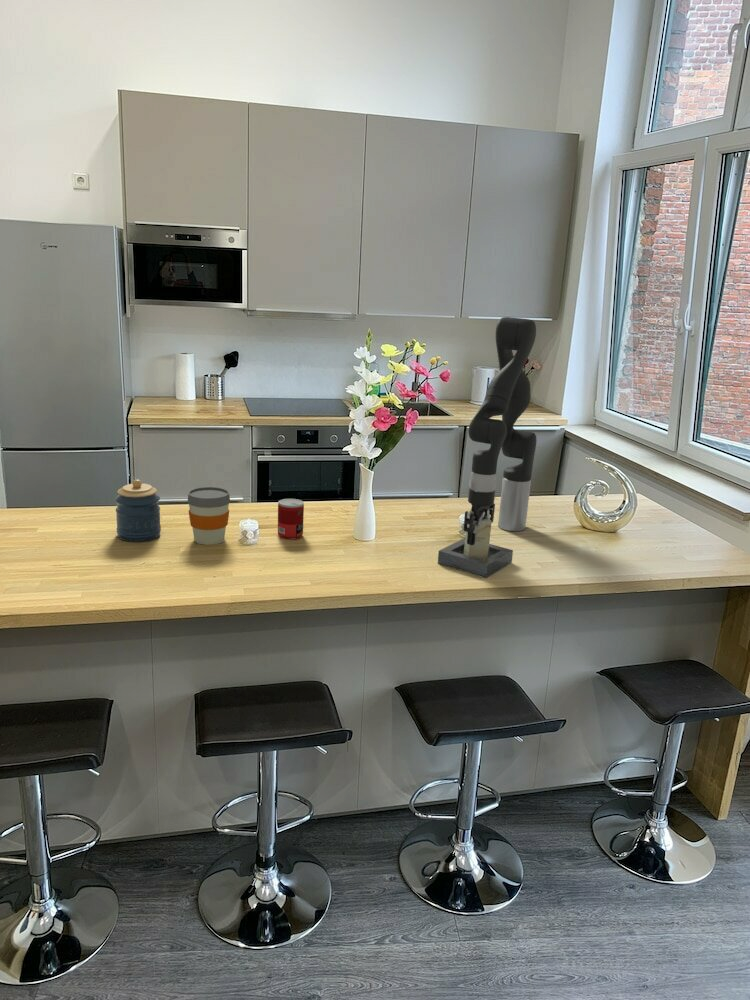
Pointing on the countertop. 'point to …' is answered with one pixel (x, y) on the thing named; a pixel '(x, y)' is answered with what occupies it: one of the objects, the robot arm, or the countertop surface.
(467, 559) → the dark grey square frame
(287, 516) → the canned food
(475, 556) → the skincare box
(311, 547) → the countertop surface
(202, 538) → the reusable coffee cup
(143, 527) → the canister
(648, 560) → the countertop surface
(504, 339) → the robot arm
